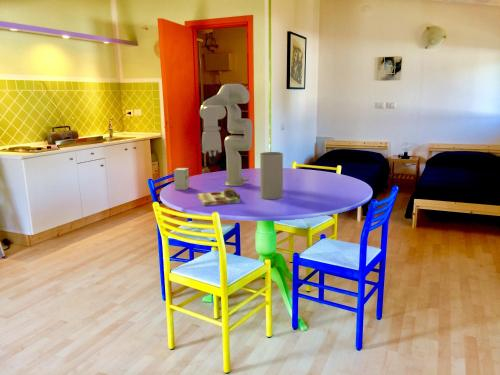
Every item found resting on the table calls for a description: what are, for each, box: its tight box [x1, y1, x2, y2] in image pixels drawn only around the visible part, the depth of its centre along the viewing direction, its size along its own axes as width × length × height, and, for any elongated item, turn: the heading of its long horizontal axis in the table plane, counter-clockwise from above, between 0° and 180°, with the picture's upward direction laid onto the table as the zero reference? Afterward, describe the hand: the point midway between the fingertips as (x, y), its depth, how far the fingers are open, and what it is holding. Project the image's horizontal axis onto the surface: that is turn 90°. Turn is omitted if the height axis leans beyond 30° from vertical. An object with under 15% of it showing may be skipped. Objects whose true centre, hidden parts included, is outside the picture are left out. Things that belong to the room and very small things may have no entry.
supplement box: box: [173, 167, 190, 191], centre depth 259 cm, size 7×7×13 cm
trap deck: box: [197, 187, 241, 207], centre depth 232 cm, size 20×20×4 cm
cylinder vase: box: [259, 151, 284, 201], centre depth 233 cm, size 12×12×25 cm
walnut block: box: [223, 187, 233, 197], centre depth 232 cm, size 4×4×4 cm
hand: (212, 163), depth 227 cm, fingers closed
